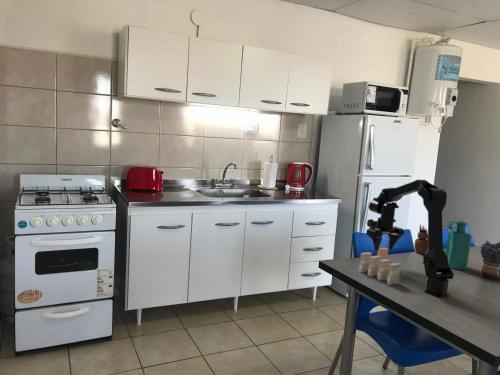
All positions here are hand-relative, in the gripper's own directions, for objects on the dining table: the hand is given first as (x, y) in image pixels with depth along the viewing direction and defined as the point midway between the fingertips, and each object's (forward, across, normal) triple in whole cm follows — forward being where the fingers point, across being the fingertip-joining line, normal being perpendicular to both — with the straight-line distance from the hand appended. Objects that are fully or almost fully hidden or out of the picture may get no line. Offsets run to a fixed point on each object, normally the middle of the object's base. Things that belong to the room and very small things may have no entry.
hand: (383, 250), depth 188 cm
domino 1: (+7, +14, +3) cm, 16 cm away
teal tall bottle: (+7, -35, +13) cm, 38 cm away
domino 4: (+7, +14, +13) cm, 20 cm away
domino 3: (+7, 0, 0) cm, 7 cm away
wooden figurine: (+7, -39, -8) cm, 41 cm away
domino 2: (+7, +14, +8) cm, 18 cm away
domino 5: (+7, +14, +18) cm, 24 cm away
